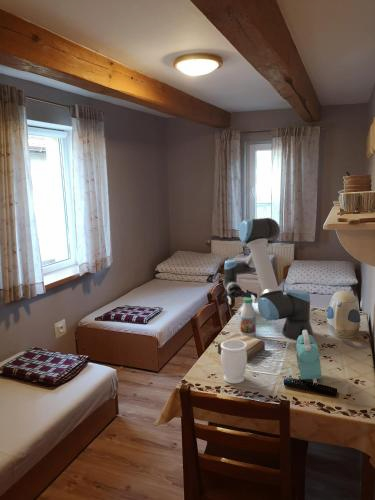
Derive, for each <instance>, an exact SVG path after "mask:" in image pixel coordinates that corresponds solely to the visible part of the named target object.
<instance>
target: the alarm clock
mask: <svg viewBox="0 0 375 500" xmlns="http://www.w3.org/2000/svg"><path fill="white" fill-rule="evenodd" d="M296 362H297V366H298V367H297V368H298V371H299V376H300V377H299V378H300V380H312V383H313V384H314V383H317V384H318V380H321V379H322V377H323V375H322V366H321V359H320V353H319V347H318V344H317V342H316V340H315V338H314V336H311V335H309V334H308V331H307V330H303V331H302V335H300V336H299V337H298V339H297V340H296Z"/></svg>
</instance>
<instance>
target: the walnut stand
mask: <svg viewBox="0 0 375 500" xmlns="http://www.w3.org/2000/svg"><path fill="white" fill-rule="evenodd" d="M226 340H240V341H243V342H245V343H246V344H247V348H246V353H247V363H248V362H251V360H253V359H254V358H255V357H257V356H258V355H260V354H261V353H262V352H263V351H265V350H266V341H265V340H264V339H260V338H256V337H249V336H245V335H241V333H236V332H235V334H233V335H231V336H229V337H228V338H226V339H224V340H223V341H221V342H220V343H217V354H220V355H221V351H222V348H221V343H222V342H224V341H226Z"/></svg>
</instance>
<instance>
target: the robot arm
mask: <svg viewBox="0 0 375 500" xmlns="http://www.w3.org/2000/svg"><path fill="white" fill-rule="evenodd" d="M280 235H281V228H280V225H279V223H278V221H276V220H275V219H273V218H270V217H264V218H263V217H262V218H248V219H244V220H242V221H241V222H240V224H239V228H238V237H239V240H240V241H241V242H242V243H245V245H246V247H247V248H249V251H250V253H249V255H248V257H247V259H245V261H239V262H237V260H236V259H227V260H225V261H224V268H223V270H224V279H223V281H222V283H223V284H222V285H223V287H224V289H225V290H224V292H223V293H222V295H221V301H224V302H228V304H229V305H232V299H233V298H235V299H237V298H239V297H241V298H252V300H253V303H254V304H256V303H257V310H258V312H259V315H261V317H262V318H263V319H264V320H266V321H268V322H269V321H277V320H282V319H285V321H284V325H283V327H282V335H283V337H286V338H287V339H292V340H296V341H297V339H298V337H299V336H300V335H302V331H303V330H307V331H308V334H309V335H311V336H312V337H314V332H313V328H312V324H311V321H310V319H311V317H310V315H311V312H310V311H311V295H310V293H308V292H307V291H304V290H300V289H292V288H291V289H287V290H286V292H285V293H286V294H285V293H284V291H283V290H282V289H281V288H280V287H279V285H278V282H277V278H276V275H275V270H274V268H273V264H272V261H271V258H270V254H269V249H270V248H271V246H272V245H273V244H276V242H277V241H278V239H279V237H280ZM255 273H256V276H257V279H258V283H259V286H260V291H261V293H260V294H259V299H258V293H257V292H253V291H250V290H248V289H245V290H243V289H242V287H240V285H239V284H238V275H239V276H240V275H247V274H255ZM257 299H258V300H257Z"/></svg>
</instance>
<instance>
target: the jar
mask: <svg viewBox="0 0 375 500" xmlns="http://www.w3.org/2000/svg"><path fill="white" fill-rule="evenodd" d="M225 340H226V339H225ZM223 341H224V340H223ZM223 341H221V342H222V343H221V342H220V343H221V348H222V351H221V354H220V363H221V364H220V365H221V369H222V372H223V374H224V375H223V380H224V381H225V382H226V383H228V384H241V383H242V382H244V381H245V376H244V375H245V373H246V369H247V365H248V364H247V363H248V362H247V353H246V348H247V344H246V343H245V342H243V341H240V340H226V341H224V342H223Z"/></svg>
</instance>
